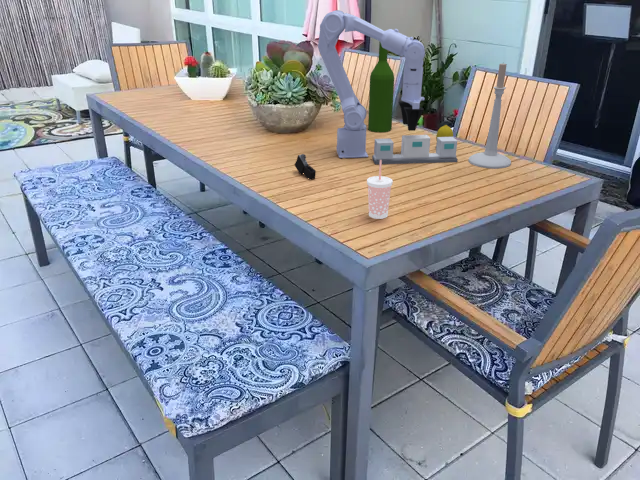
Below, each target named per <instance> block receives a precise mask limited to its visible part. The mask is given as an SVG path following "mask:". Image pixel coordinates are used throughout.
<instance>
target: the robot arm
mask: <svg viewBox="0 0 640 480" xmlns="http://www.w3.org/2000/svg"><path fill="white" fill-rule="evenodd" d="M399 31H400V30H399V29H398V28H394V29H392V28H388V29H386V30H383V29H381V28H380V27H378V26H376V25H374V24H372V23H370V22H368V21H366V20H365V19H363V18H361V17H359V16H357V15H354V14H351V13H347V12H343V11H342V10H339V9H337V10H336V9H335V10H332V11H330V12H328V13H326V14H325V16H323V19H322V21H321V22H320V24H319V36H318V41H317V48H318V51H319V54H320V55H321V59H322V61H323V63H324V65H325V68H326V70H327V73H328V75H329V77H330V79H331V82H332V84H333V87H334V89H335V91H336V93H337V96H338V98H339V100H340V103H341V110H342V112H343V122H344V126H343V127H338V128H337V131H336V153H337V155H338V158H339V159H350V158H353V159H356V158H357V159H358V158H368V157H369V154H368V152H367V151H366V150H367V149H366V148H367V125H366V123H365V119H366V117H367V109H366V107H365V106H364V105H362V103H361V102H360V100H359V98H358V97H357V96H356V94H355V91H354V90H353V87H352V85H351V81H350V80H349V77H348V74H347V72H346V70H345V67H344V65H343V63H342V61H341V58H340V56H339V52H338V50H337V48H336V45H337V43H338V40H339V38H340V35H342V33H343V32H345V33H348V32H357V33H360V34H362V35H364V36H367V37H368V38H372V39H374V40H377V41H378V42H381V46H382V48H384V49H387V51H388V52H391V53H393V54H395V55H398V56H399V57H403V56H404V57H405V58H404V59H405V61H404V62H405V63H404V67H403V74H402V76H403V77H402V79H403V80H402V91H401V92H402V93H401V94H402V95H401V99H400V101H398V105H399V108H400V110H401V111H400V112H401V119H402V123H403V125H407V130H408V131H409V132H410V131H411V132H412V131H413V132H414V131H416V129H417V126H418V123H419V120H420V117H421V115H422V113H424V108H423V107H421V106H420V105H421V104H420V103H421V102H422V101H425V97H424V96H422V89H423V87H422V85H423V74H424V67H423V65H424V59H425V55H426V52H425V50H426V49H425V46H424V44H423V42H421V41H419V40H418V39H414V36H410V37H409V36H408V35H405V34H403V33H401V32H399Z"/></svg>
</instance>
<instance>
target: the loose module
mask: <svg viewBox="0 0 640 480" xmlns="http://www.w3.org/2000/svg"><path fill="white" fill-rule="evenodd" d="M400 147H401V148H400V154H401V155H402V156H403V158H413V157H429V153H430V147H431V137H430V136H429V135H428V134H415V135H414V134H409V135H407V134H406V135H404V134H403V135H401V146H400Z"/></svg>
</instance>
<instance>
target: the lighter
mask: <svg viewBox="0 0 640 480" xmlns="http://www.w3.org/2000/svg"><path fill="white" fill-rule="evenodd" d="M306 159H307V156H306V154H304V153H302V154H299V155H297V159H296V160H295V163H294V167H295V168H296V170H297V172H298V173H299V175H300V174H301V175H304V177H306V179H308V178H309V179H308V180H310V179H311V180H315V179H316V175H317V174H316V173H317V170H315V168H313V167H312V166H311V165H309V163H308V161H307V160H306ZM303 173H304V174H303Z"/></svg>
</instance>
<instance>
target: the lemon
mask: <svg viewBox="0 0 640 480" xmlns="http://www.w3.org/2000/svg"><path fill="white" fill-rule="evenodd" d="M453 131H454V130H453V129H452V128H451V127H450V126H448V125H447V124H444V125H443V126H440V127H439V129H437V132H436V136H435V138H436V141H437V137H453V138H454V132H453Z"/></svg>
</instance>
